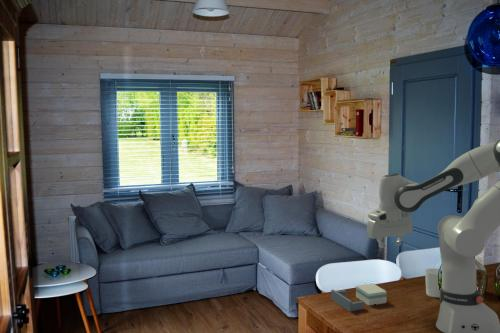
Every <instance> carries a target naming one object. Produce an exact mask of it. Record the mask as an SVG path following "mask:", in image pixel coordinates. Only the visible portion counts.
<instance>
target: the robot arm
mask: <svg viewBox="0 0 500 333" xmlns="http://www.w3.org/2000/svg"><path fill="white" fill-rule="evenodd" d="M494 173H500V139H498V140H497V141H496V142H495V141H494V142H489V143H485V144H484V145H480V146H478V147H475V148H473V149H471V150H469V151H466V152H465V153H463V154H461V155H459V156H458V157H457V158H456V159H454V160H453V161H451V163H449V165H448V166H447V167H446V168H444V169H443V170H442V171H441V172H440V173H438V174H437V175H435V176H433V177H431V178H429V179H427V180H425V181H423V182H421V183H418V182H415V181H412V180H409V179H408V178H405V176H402V175H401V174H400V173H390V174H389V173H388V174H385V175H384V176H382V177H381V178H380V180H379V190H378V193H379V194H378V195H379V196H378V198H379V203H378V208H376V209H374V210H373V211H370V212H369V213H368V214H367V215H368V216H367V217H368V218H369V219H368V221H367V223H366V235H367V237H368V238H371V239H376V241H377V243H378V248H380V249H383V248H385V243H384V242H382V240H383V238H387V237H388V238H389V237H396V236H397V239H396V240H395V242H394V243H395V244H394V245H395V246H397V247H398V246H399V247H400V246H401V245H402V244H401V243H402V241H403V239H404V236H405V235H412V233H413V221H412V213H413V212H416V211H417V210H418V209H419V208H420V207H421V206H422V204H423V203H424V202H426V201H428V200H429V199H431V198H432V197H435V196H437V195H439V194H441V193H443V192H446V191H447V190H449V189H452V188H456V187H460V186H463V185H466V184H470V183H474V182H477V181H479V180H481V179H483V178H486V177H488V176H490V175H491V174H494ZM499 227H500V180H498V181H497V182H496V183H494V184H493V185H491V187H489V188H488V189H487V190H486V191H484V192H483V193H482V194H481V195H480V196H478V197H477V198H476V199H475V200H474V202H473V204H472V205H471V207H470V209H469V210H468V211H467V213H465V215H464V216H460V215H454V214H451V215H450V214H448V215H445V216H444V217H442V218H440V220H439V222H438V224H437V234H438V241H439V242H438V244H439V252H440V260H441V270H442V286H441V288H440V297H439V303H440V306H439V311H438V317H437V320H436V323H435V327H436V328H437V329H438V330H439V331H440V332H442V333H500V319H499V317H498V314H497V313H496V312H495V311H494V310H493V309H491V308H490V307H489V306H487V305H486V304H485V303H484V302H483V301H484V299H483V293H482V291H478V290H477V267H476V262H475V258H474V257H476V256H478V255H480V254H481V253H483V251H484V250H485V247H486V243H487V242H488V241H489V239H490V237H491V236H492V235H493V234H494V233H495V232H496V230H497V229H498V228H499Z"/></svg>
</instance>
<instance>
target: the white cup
mask: <svg viewBox="0 0 500 333" xmlns="http://www.w3.org/2000/svg"><path fill="white" fill-rule="evenodd" d="M439 269H440V268H427V269H425V270H424V271H425V272H424V273H425V277H424V278H425V279H424V280H425V293H426V295H427V296H428V297H431V298H437V299H438V298H440V290H439V285H438V270H439Z"/></svg>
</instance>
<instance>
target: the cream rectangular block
mask: <svg viewBox="0 0 500 333" xmlns="http://www.w3.org/2000/svg"><path fill="white" fill-rule="evenodd" d="M387 294H388V293H387V291H386V290H385V289H384V288H381V287H380V286H378V285H377V284H375V283H365V284H359V285H355V297H356V298H357V299H358V298H359V299H358V300H360V301H361V300H362V301H364V302H365V303H364V304H366V305H367V306H375V305H374V304H376V305H380V304H381V305H382V304H386V303H387Z"/></svg>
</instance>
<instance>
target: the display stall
mask: <svg viewBox="0 0 500 333" xmlns="http://www.w3.org/2000/svg"><path fill="white" fill-rule="evenodd" d="M330 296H331V297H330V300H332V301H333V302H334V303H336V304H338V305H339V306H341V307H342V308H344V309H345V310H346V311H348V312H350V313H351V312H355V311H362V310H365V303H364V301H361V300H360V301H358V300H357V301H355V302H353V301H352V300H351V299H350V298H347V290H346V289H343V290H335V289H331V290H330Z"/></svg>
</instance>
